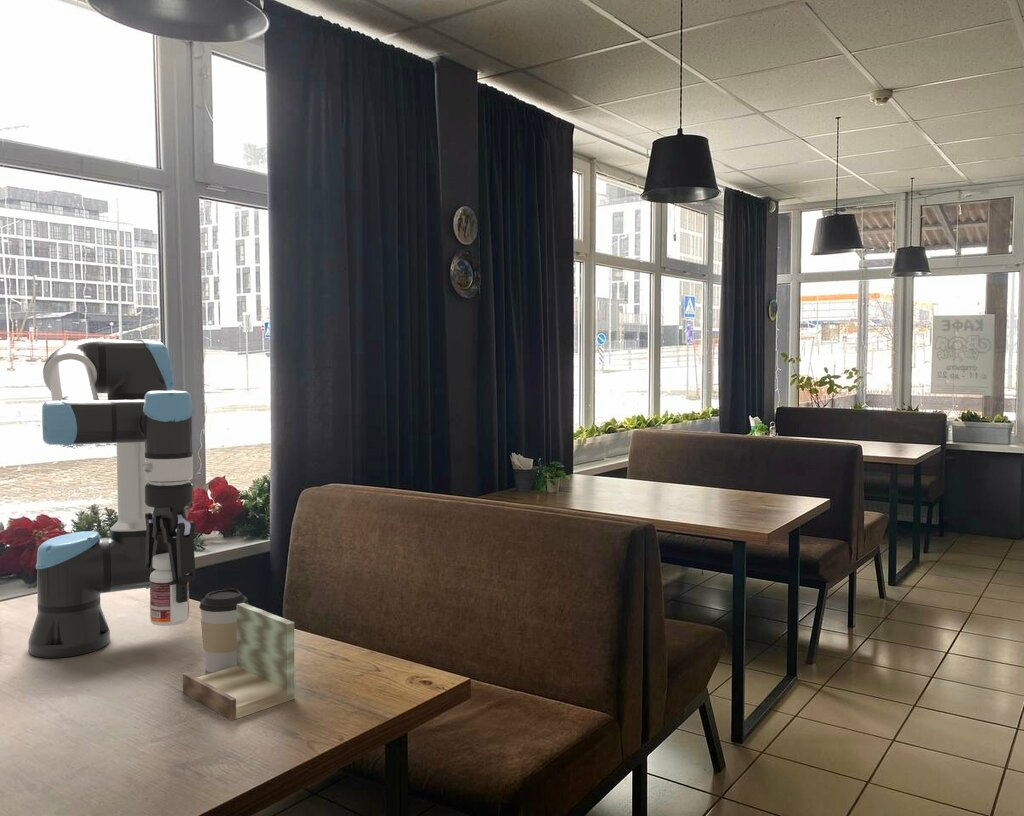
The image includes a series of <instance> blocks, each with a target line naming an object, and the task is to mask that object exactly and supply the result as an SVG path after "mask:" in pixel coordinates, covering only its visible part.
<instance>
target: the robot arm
mask: <svg viewBox="0 0 1024 816" xmlns="http://www.w3.org/2000/svg"><path fill="white" fill-rule="evenodd" d="M42 377H43V381H44V384H45V387H47V388H48V390H49V391H50V395H51V400H50V401H49V400H48V401H45V402H43V404H42V407H41V410H42V411H41V419H42V421H41V423H42V424H41V425H42V440H43V442H44V443H45V444H46V445H49V446H50V445H52V446H53V445H55V446H57V445H58V446H60V445H63V446H65V447H68V446H75V445H77V446H78V445H97V444H98V445H99V444H100V445H102V444H116V471H117V472H116V473H117V474H116V475H117V477H116V479H117V480H116V481H117V484H116V485H117V486H116V487H117V520H116V522H115V523H114V524H113V525H112V526H111V527H110V536H108V537H101V535H100V533H99V532H98V531H95V530H89V531H88V530H87V531H85V530H84V531H77V532H76V531H75V532H70V533H66V534H62V535H61V534H60V535H59V536H58V535H57V536H55V537H52V538H50V539H46V540H45V541H44V542H42V543H41V544H40V545H39V546H38V548H37V553H36V563H35V569H36V570H37V573H36V575H37V591H36V593H37V614H36V618H35V620H34V623H33V626H32V629H31V632H30V635H29V638H28V645H27V646H28V653H29V654H30V655H32V656H34V657H38V658H45V659H46V658H49V659H50V658H51V659H53V658H54V659H55V658H56V659H58V658H67V657H74V656H75V657H76V656H80V655H85V654H88V653H92V652H95V651H97V650H100V649H103V648H104V647H106V646H107V645H108V644H110V642H111V630H110V627H109V623H108V621H107V619H106V615H104V611H103V609H102V606H101V594H106V593H114V592H123V591H130V590H138V589H146V590H148V589H149V590H150V575H151V573H152V572H153V571H154V570H156V569H154V568H153V556H155V555H158V554H163V553H169V558H170V564H171V571H172V578H173V581H170V582H169V585H170V622H172V623H173V622H178V621H182V620H187V619H188V620H189V618H188V582H189V583H190V582H192V581H194V580H196V563H195V561H196V560H195V558H196V556H195V537H194V535H195V528H196V524H195V522H194V520H193V521H192V520H191V521H188V520H187V515H186V512H185V511H186V510H185V508H186V506H189V505H191V504H192V503H193V501H194V493H193V492H194V491H193V490H194V488H193V487H194V484H193V483H192V482H191V481H190V480H192V479H193V478H194V457H193V456H194V455H193V415H194V409H193V400H192V395H191V393H190V392H188V391H185V390H174V386H175V385H174V373H173V365H172V361H171V356H170V353H169V350H168V348H167V346H166V345H165V344H164V343H163V342H161V341H159V340H149V339H110V338H109V339H106V338H105V339H102V338H101V339H98V338H86V339H85V338H84V339H81V340H80V339H79V340H75V341H72V342H70V343H67V344H65V345H63V346H61V347H59V348H58V349H56V350H55V351H53V352H52V353H51V354H50V355H49V356H48V358H47V359H46V361H45V363H44V366H43V370H42ZM98 394H107V399H105V400H103V399H101V400H100V397H99V396H98ZM188 620H187V621H188Z"/></svg>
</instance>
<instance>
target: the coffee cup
mask: <svg viewBox="0 0 1024 816" xmlns="http://www.w3.org/2000/svg"><path fill="white" fill-rule="evenodd" d="M199 603H200V604H199V609H200V615H201V618H200V625H201V637H202V648H203V652H204V662H205V670H206V672H208V673H210V674H211V673H214V672H217V671H221V670H224V669H228V668H231V667H234V666H237V604H240V603H246V604H248V605H249V602H248V597H247V596H246V595H243V593H242V591H240V590H239V589H238V588H236V587H228V588H224V589H221V590H213V591H210V592H208V593H206V594H205V596H204V597H203V598H202V599H201V600H200V602H199Z"/></svg>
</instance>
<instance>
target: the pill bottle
mask: <svg viewBox="0 0 1024 816" xmlns="http://www.w3.org/2000/svg"><path fill="white" fill-rule="evenodd" d="M153 568H154V569H156V570H154V571H153V572H152V573H151V575H150V588H149V596H150V597H149V600H150V601H149V602H150V603H149V605H150V606H149V611H150V612H149V613H150V616H149V618H150V623H151V624H153V625H154V626H160V627H161V626H162V627H167V626H176V625H180V624H183V623H185V622H187V621H188V620H189V617H190V590H189V589H190V587H189V585H190V581H189V582H188V619H187V620H182V621H178V622H173V623H172V622H170V585H169V582H170V581H173V578H172V571H171V564H170V558H169V553H163V554H158V555H155V556H153Z"/></svg>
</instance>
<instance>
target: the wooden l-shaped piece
mask: <svg viewBox="0 0 1024 816" xmlns="http://www.w3.org/2000/svg"><path fill="white" fill-rule="evenodd" d="M182 693H183V694H185V695H187V696H188V697H189V698H192V699H193V700H195V701H198V703H201V704H203V706H206V707H207V708H210V709H211V710H213V711H215V712H216V713H219V714H220V715H222V716H223V717H225V718H227V719H229V720H230V721H234V720H237V719H239V718H243V717H246V716H248V715H252V714H255V713H257V712H261V711H262V710H263V711H264V710H266V709H269V708H272V707H275V706H277V705H280V704H284V703H286V702H289V701H291V700H295V621H291V620H290V619H288V618H287V619H286V618H284V617H281V616H279V615H277V614H273V613H271V612H268V611H266V610H263V609H261V608H258V607H256V606H253V605H251V604H249V603H248V604H246V603H240V604H237V666H234V667H231V668H228V669H224V670H221V671H217V672H214V673H211V672H210V673H207V674H205V675H204V674H203V675H200V676H198V677H197V676H194V675H193V674H191V673H189V672H185V673H182Z"/></svg>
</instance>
